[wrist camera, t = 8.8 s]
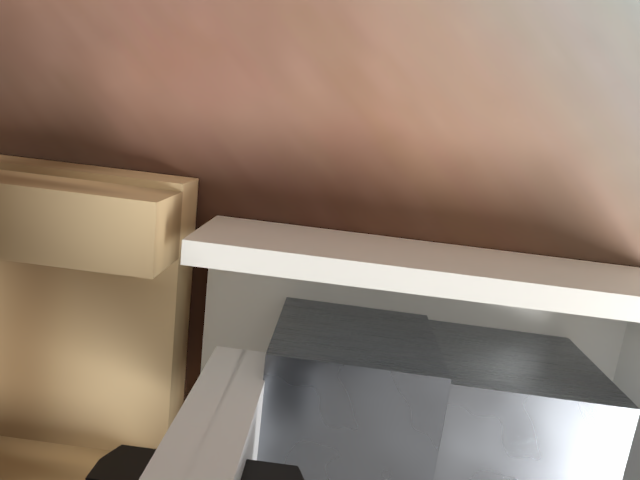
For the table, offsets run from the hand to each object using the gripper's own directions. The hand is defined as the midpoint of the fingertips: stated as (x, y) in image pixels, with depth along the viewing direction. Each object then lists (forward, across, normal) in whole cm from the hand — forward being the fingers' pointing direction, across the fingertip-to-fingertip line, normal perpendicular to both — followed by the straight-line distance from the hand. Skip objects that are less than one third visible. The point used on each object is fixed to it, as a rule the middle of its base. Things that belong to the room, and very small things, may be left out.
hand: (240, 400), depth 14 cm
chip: (+3, +7, 0) cm, 7 cm away
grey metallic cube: (+3, +3, 0) cm, 4 cm away
